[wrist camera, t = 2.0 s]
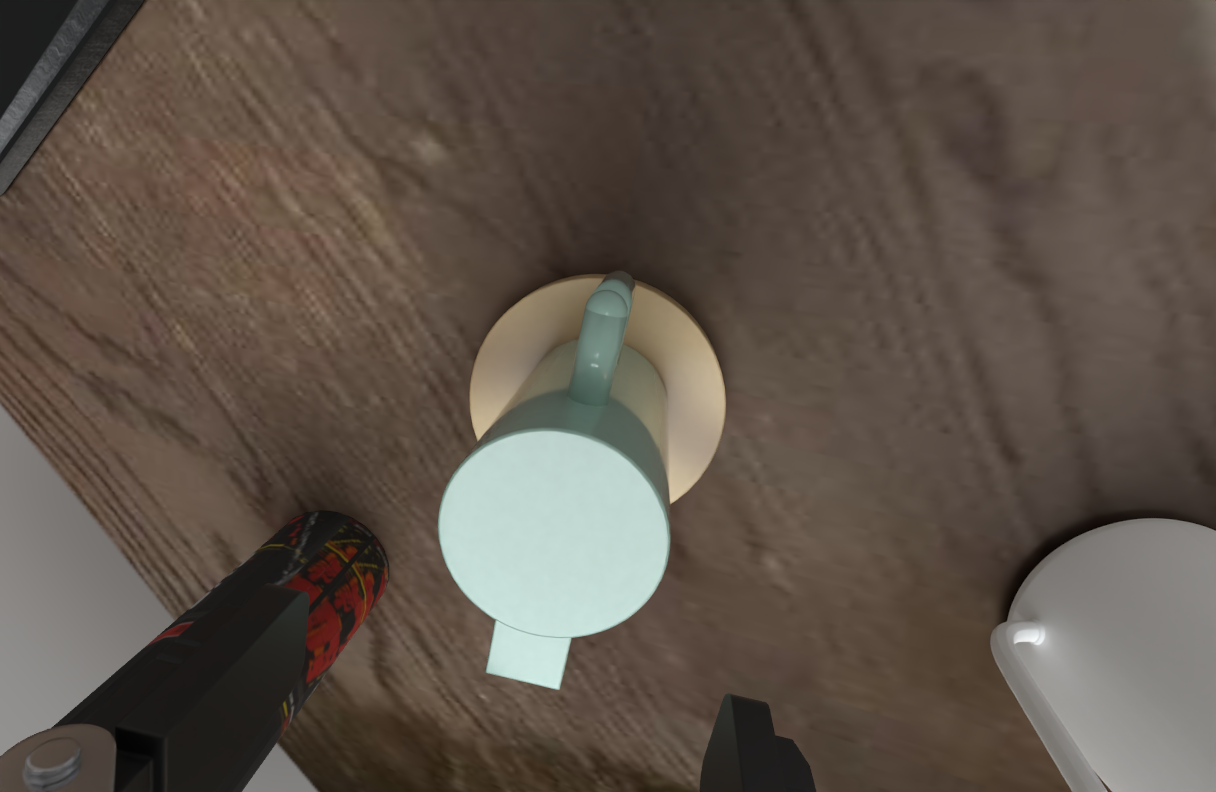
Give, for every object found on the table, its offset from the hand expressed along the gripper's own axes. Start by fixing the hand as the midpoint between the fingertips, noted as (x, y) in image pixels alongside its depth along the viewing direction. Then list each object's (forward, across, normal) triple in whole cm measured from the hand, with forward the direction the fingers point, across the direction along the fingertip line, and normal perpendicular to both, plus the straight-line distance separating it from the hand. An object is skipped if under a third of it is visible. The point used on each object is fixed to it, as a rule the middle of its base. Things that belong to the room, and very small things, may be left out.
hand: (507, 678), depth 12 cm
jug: (+16, 0, -1) cm, 16 cm away
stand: (+18, 0, 0) cm, 18 cm away
